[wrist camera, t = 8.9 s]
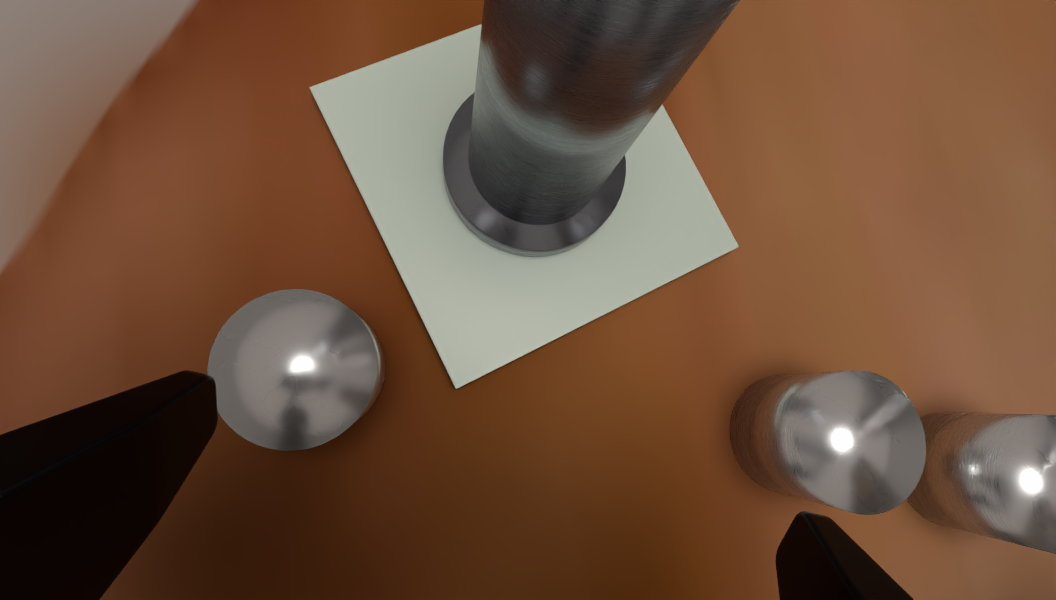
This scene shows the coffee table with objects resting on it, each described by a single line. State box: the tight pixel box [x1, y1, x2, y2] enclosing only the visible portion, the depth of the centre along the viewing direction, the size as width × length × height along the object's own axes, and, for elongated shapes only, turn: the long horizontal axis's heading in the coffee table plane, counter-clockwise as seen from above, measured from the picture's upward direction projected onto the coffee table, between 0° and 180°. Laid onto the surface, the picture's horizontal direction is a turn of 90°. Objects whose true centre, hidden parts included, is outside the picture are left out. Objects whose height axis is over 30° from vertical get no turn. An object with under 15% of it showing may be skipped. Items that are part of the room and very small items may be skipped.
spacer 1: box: [208, 289, 385, 451], centre depth 17 cm, size 4×4×4 cm
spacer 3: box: [907, 412, 1056, 554], centre depth 20 cm, size 4×4×4 cm
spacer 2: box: [730, 371, 926, 515], centre depth 19 cm, size 4×4×4 cm
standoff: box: [443, 0, 740, 257], centre depth 13 cm, size 6×6×14 cm
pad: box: [310, 24, 739, 389], centre depth 21 cm, size 11×11×1 cm
